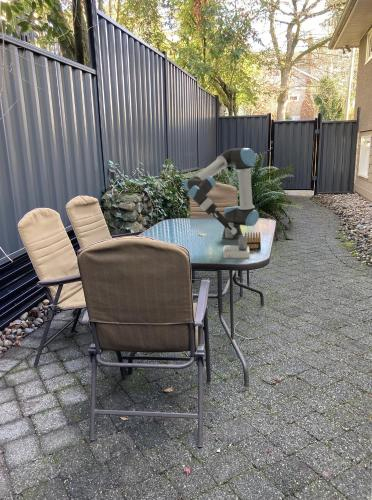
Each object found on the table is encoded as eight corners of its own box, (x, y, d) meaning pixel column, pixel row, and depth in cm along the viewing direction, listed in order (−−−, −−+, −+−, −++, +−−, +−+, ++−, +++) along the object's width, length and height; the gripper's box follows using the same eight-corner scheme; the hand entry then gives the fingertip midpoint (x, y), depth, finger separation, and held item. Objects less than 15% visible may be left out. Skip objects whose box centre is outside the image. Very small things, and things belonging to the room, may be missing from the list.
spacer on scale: (238, 248, 239) (238, 234, 237) (246, 248, 239) (246, 234, 236) (238, 250, 234) (238, 236, 232) (247, 250, 234) (247, 236, 232)
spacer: (225, 236, 245) (225, 222, 243) (233, 236, 245) (233, 222, 242) (225, 238, 240) (225, 224, 238) (233, 238, 240) (233, 224, 238)
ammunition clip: (260, 249, 253) (260, 231, 250) (260, 249, 251) (261, 231, 248) (244, 249, 253) (244, 231, 250) (244, 250, 251) (244, 232, 248)
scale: (223, 251, 251) (223, 245, 250) (248, 251, 248) (248, 245, 247) (222, 258, 235) (222, 251, 234) (249, 258, 232) (249, 251, 231)
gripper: (205, 208, 249) (231, 233, 251) (203, 212, 232) (230, 239, 234) (213, 200, 247) (239, 225, 249) (211, 204, 230) (239, 231, 232)
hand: (235, 232), depth 241 cm, fingers closed on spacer, 5 cm apart
